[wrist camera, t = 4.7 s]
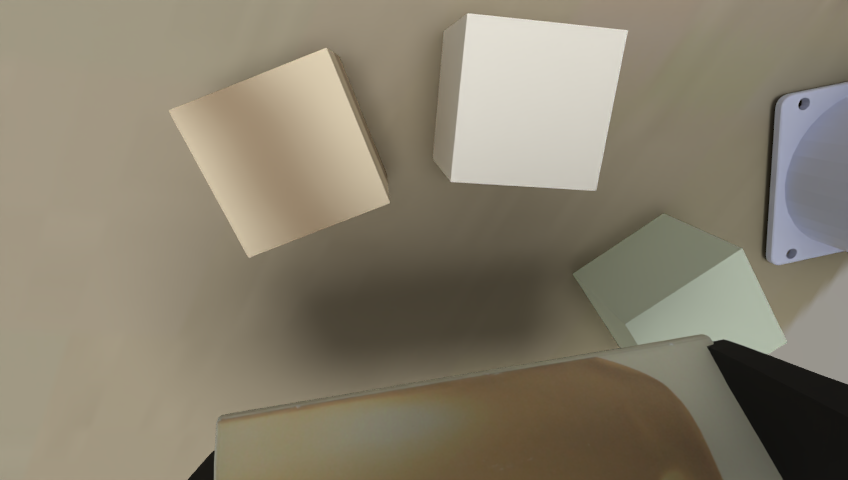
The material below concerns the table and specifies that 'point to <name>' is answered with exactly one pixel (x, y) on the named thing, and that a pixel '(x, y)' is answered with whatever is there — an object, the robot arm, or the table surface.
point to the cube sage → (679, 289)
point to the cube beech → (286, 151)
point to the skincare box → (514, 425)
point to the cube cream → (525, 101)
